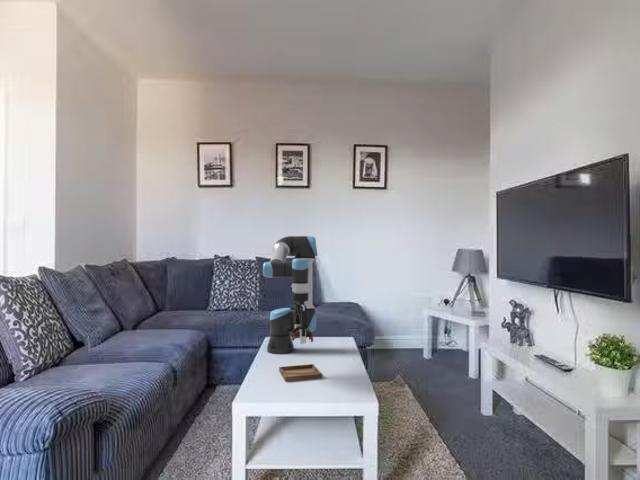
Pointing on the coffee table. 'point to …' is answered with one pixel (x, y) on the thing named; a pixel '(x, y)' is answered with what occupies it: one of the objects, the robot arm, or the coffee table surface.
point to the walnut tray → (300, 372)
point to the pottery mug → (297, 334)
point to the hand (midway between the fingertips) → (300, 340)
